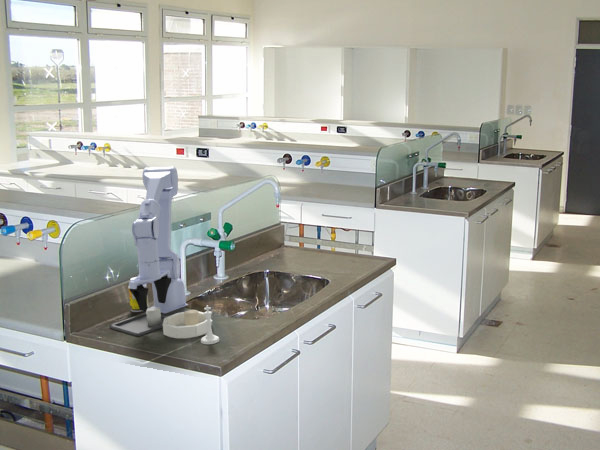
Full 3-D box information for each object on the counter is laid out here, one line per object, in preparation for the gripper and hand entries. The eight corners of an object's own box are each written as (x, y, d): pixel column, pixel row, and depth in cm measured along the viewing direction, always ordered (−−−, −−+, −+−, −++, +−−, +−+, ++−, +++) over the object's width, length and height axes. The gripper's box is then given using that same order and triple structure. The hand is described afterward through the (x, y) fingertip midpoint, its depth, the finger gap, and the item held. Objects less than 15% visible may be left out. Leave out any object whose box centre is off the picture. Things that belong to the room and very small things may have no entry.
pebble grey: (155, 321, 208) (154, 306, 208) (164, 323, 206) (163, 308, 205) (144, 325, 205) (143, 310, 205) (153, 327, 203) (152, 312, 202)
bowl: (189, 320, 209) (188, 308, 208) (220, 328, 201) (220, 316, 200) (154, 333, 199) (153, 321, 198) (186, 342, 191) (185, 330, 190)
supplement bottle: (133, 307, 223) (130, 276, 221) (151, 307, 223) (148, 275, 221) (128, 313, 218) (124, 281, 216) (145, 313, 217) (142, 280, 215)
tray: (148, 315, 215) (148, 311, 215) (177, 322, 207) (176, 318, 207) (109, 329, 205) (109, 325, 204) (138, 337, 196) (138, 333, 196)
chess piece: (201, 338, 194) (198, 303, 192) (219, 337, 194) (216, 302, 192) (200, 345, 189) (197, 309, 187) (218, 343, 189) (216, 307, 187)
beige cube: (186, 325, 203) (184, 310, 202) (200, 324, 203) (198, 309, 202) (184, 330, 199) (183, 314, 198) (198, 329, 199) (197, 314, 198)
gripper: (156, 253, 210) (160, 297, 213) (119, 265, 198) (124, 312, 201) (174, 255, 206) (177, 300, 209) (137, 267, 194) (142, 315, 197)
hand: (152, 306), depth 204 cm, fingers open, 7 cm apart
